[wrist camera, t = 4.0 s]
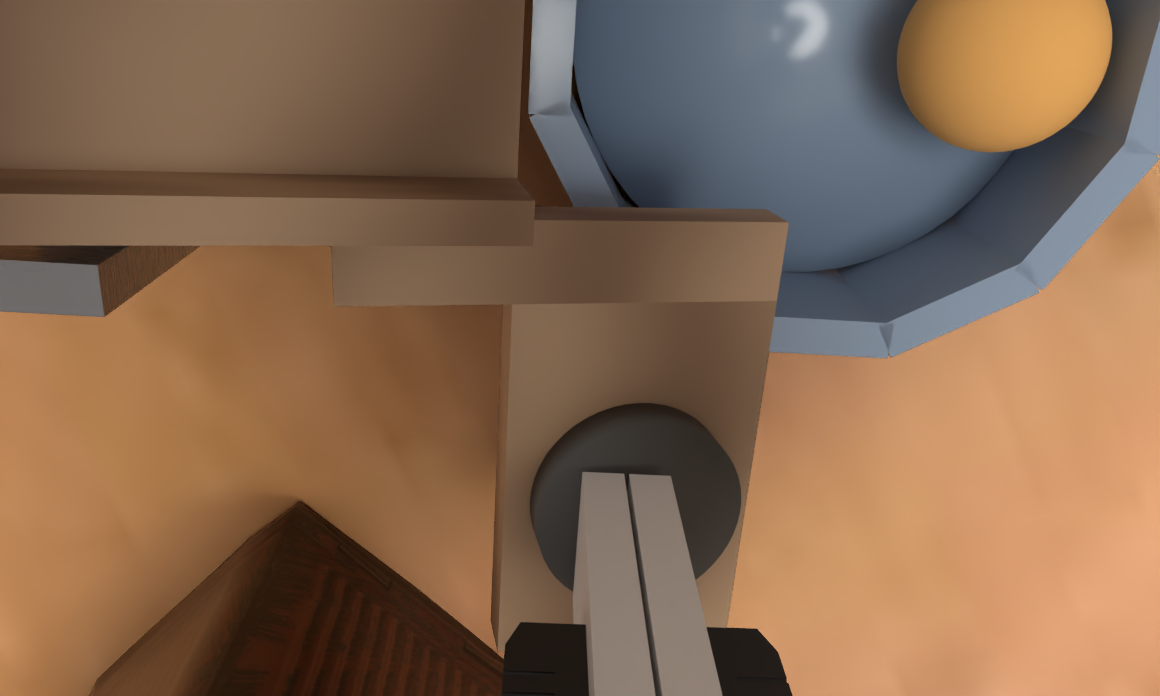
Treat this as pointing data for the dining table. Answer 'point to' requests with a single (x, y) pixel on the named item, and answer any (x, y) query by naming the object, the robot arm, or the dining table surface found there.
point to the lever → (414, 234)
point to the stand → (79, 276)
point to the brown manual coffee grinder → (305, 628)
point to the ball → (1002, 67)
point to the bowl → (834, 154)
